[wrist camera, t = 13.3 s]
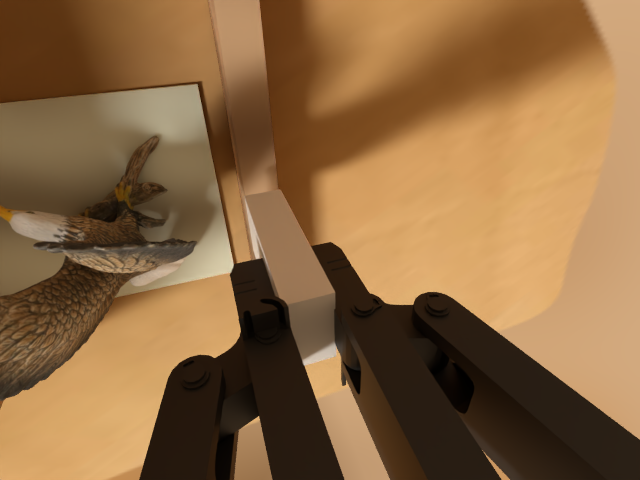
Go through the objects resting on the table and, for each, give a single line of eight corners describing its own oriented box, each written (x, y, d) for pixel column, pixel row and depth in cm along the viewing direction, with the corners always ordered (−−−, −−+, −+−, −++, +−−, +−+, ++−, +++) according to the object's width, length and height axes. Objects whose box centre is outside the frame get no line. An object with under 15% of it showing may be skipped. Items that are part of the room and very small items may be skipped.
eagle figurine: (46, 88, 14) (-64, 193, 7) (224, 163, 18) (265, 279, 11) (0, 250, 17) (-115, 444, 10) (165, 286, 21) (168, 444, 14)
